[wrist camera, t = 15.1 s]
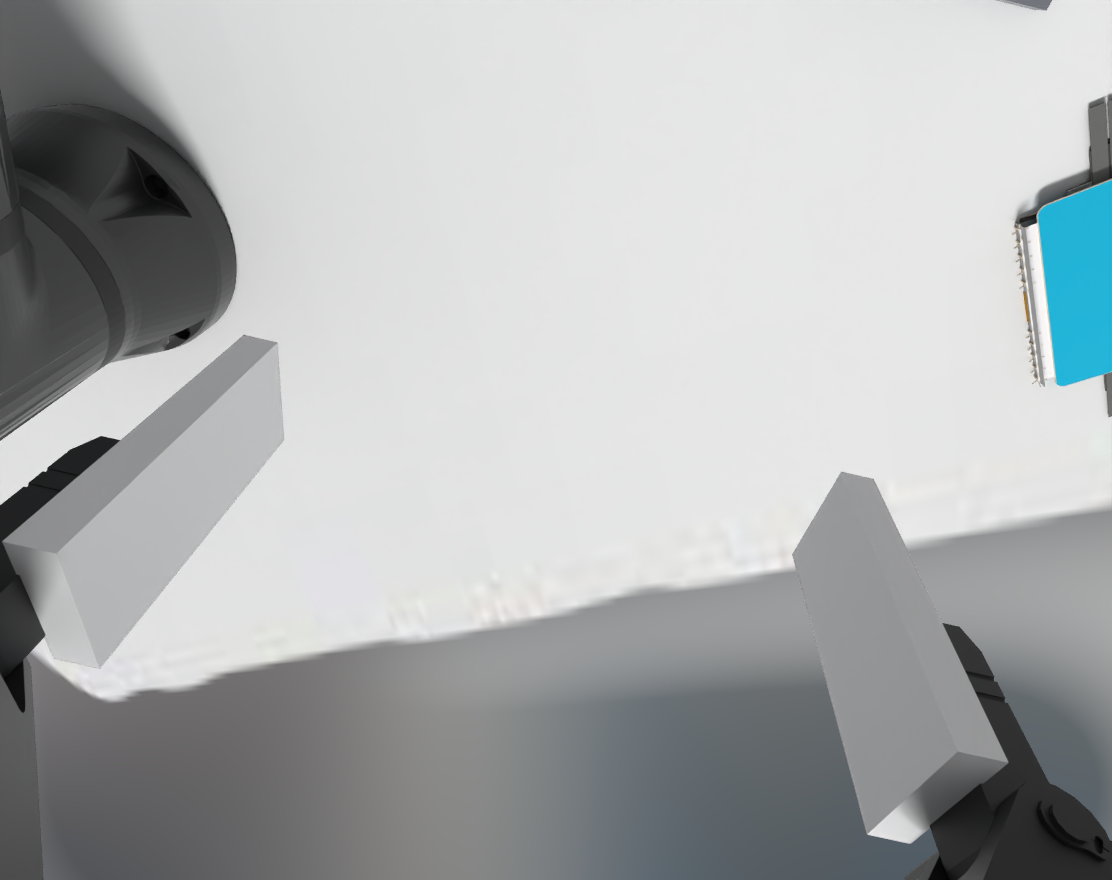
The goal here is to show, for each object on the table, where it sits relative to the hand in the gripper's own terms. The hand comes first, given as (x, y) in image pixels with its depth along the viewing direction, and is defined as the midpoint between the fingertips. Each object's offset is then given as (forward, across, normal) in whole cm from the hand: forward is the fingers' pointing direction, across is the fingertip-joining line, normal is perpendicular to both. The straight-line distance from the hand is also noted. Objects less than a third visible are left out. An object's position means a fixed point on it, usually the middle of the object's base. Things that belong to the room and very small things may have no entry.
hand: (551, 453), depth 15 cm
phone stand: (+27, +30, +2) cm, 41 cm away
